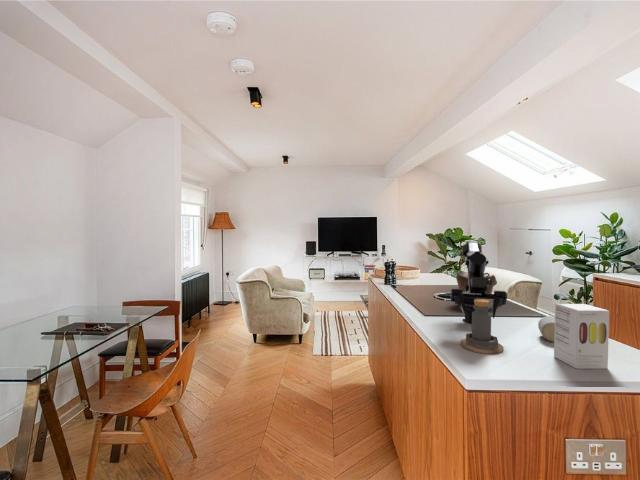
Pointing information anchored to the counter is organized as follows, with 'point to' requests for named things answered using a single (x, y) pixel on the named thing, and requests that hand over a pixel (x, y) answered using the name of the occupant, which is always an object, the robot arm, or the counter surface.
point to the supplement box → (581, 335)
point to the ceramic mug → (547, 327)
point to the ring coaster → (495, 351)
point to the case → (463, 281)
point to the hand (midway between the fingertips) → (479, 316)
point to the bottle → (481, 320)
